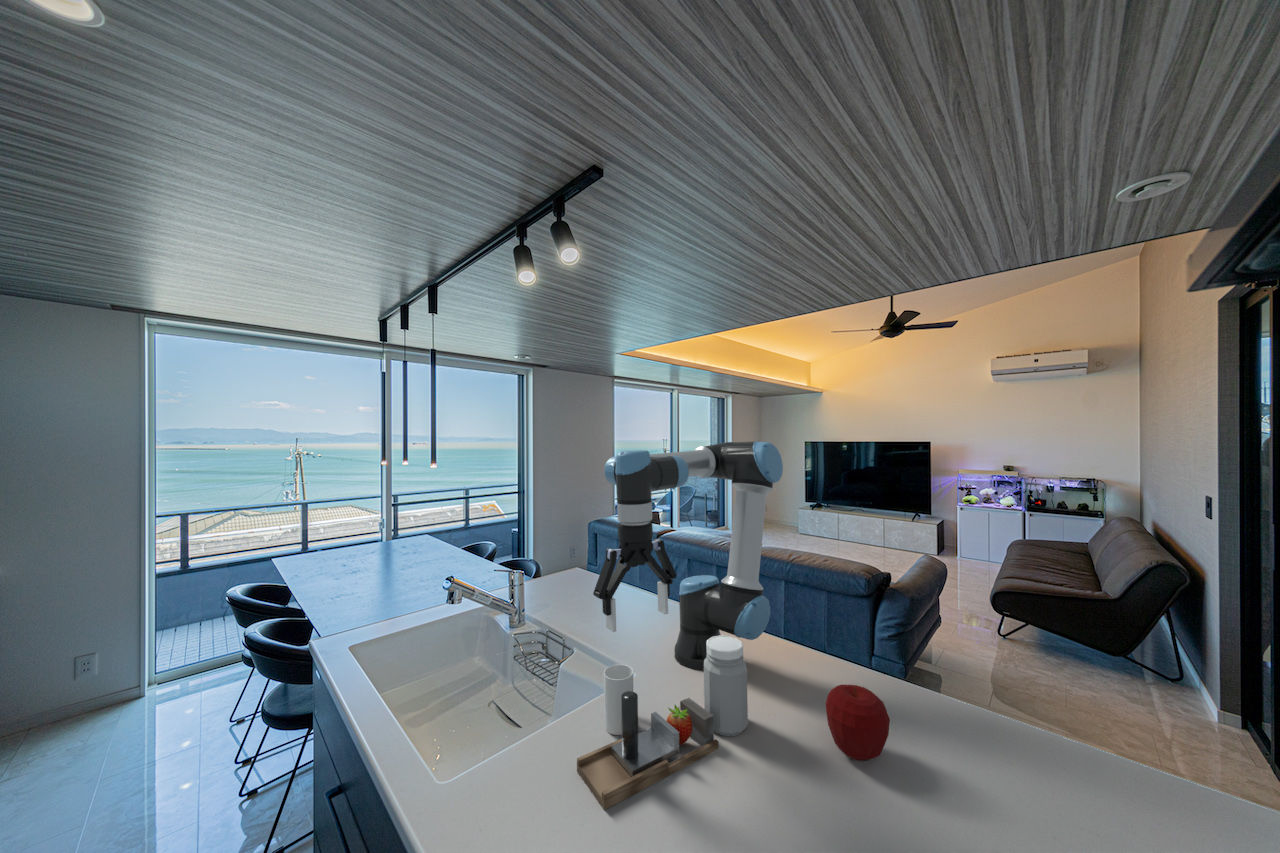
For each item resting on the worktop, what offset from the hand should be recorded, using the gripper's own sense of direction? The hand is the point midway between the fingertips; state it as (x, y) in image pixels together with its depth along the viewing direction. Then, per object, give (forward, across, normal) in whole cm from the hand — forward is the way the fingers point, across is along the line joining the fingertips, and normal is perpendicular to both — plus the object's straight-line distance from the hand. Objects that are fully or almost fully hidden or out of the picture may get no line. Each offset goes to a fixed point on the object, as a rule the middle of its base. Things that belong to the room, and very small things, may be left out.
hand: (638, 620), depth 95 cm
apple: (+26, -32, +30) cm, 51 cm away
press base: (+25, +2, +6) cm, 26 cm away
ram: (+23, +4, +6) cm, 24 cm away
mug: (+25, 0, -7) cm, 26 cm away
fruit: (+26, -5, +6) cm, 27 cm away
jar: (+26, -18, +7) cm, 32 cm away
